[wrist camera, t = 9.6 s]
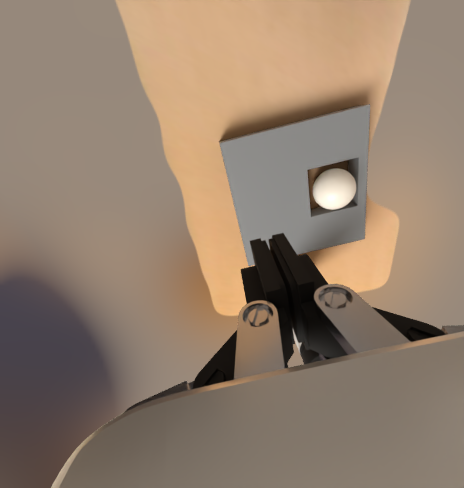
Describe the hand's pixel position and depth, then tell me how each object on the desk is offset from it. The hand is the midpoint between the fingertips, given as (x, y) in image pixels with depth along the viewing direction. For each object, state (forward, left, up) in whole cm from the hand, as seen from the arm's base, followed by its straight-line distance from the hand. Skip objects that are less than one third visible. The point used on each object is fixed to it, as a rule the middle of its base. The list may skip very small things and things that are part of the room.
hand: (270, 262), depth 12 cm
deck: (+6, +9, -27) cm, 29 cm away
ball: (+6, +14, -24) cm, 29 cm away
